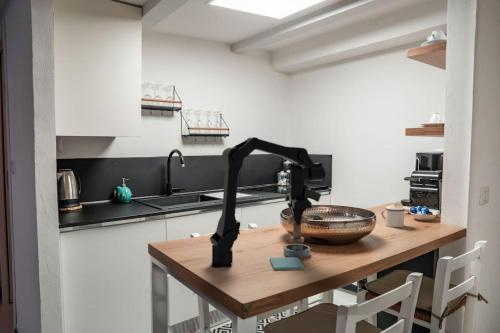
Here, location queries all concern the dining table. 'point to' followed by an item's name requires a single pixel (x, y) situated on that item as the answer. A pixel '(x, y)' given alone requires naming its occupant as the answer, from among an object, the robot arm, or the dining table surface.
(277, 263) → the rubber mat
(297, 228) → the t key
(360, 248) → the dining table surface
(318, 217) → the lighter
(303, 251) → the ring socket
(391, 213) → the teacup with lid
